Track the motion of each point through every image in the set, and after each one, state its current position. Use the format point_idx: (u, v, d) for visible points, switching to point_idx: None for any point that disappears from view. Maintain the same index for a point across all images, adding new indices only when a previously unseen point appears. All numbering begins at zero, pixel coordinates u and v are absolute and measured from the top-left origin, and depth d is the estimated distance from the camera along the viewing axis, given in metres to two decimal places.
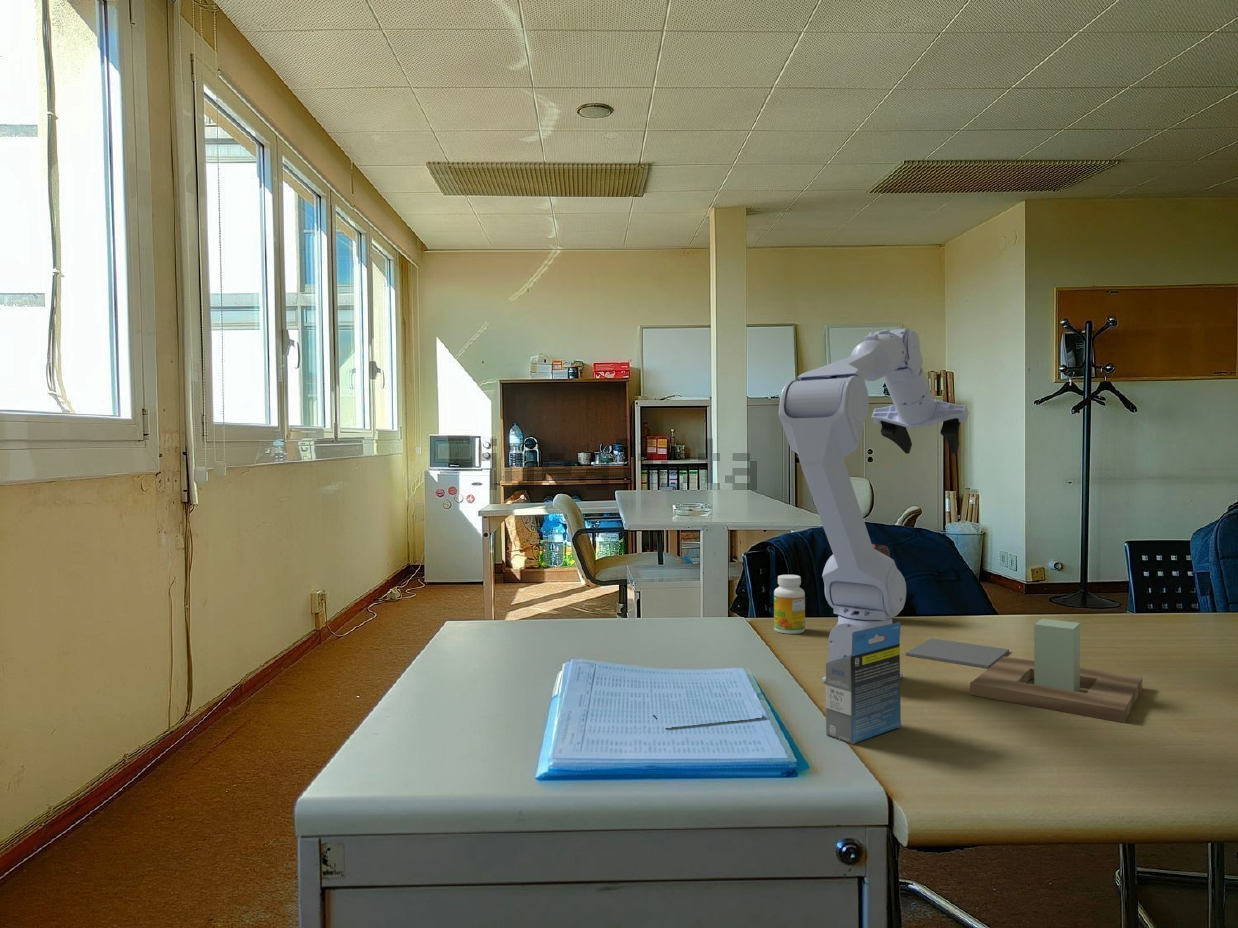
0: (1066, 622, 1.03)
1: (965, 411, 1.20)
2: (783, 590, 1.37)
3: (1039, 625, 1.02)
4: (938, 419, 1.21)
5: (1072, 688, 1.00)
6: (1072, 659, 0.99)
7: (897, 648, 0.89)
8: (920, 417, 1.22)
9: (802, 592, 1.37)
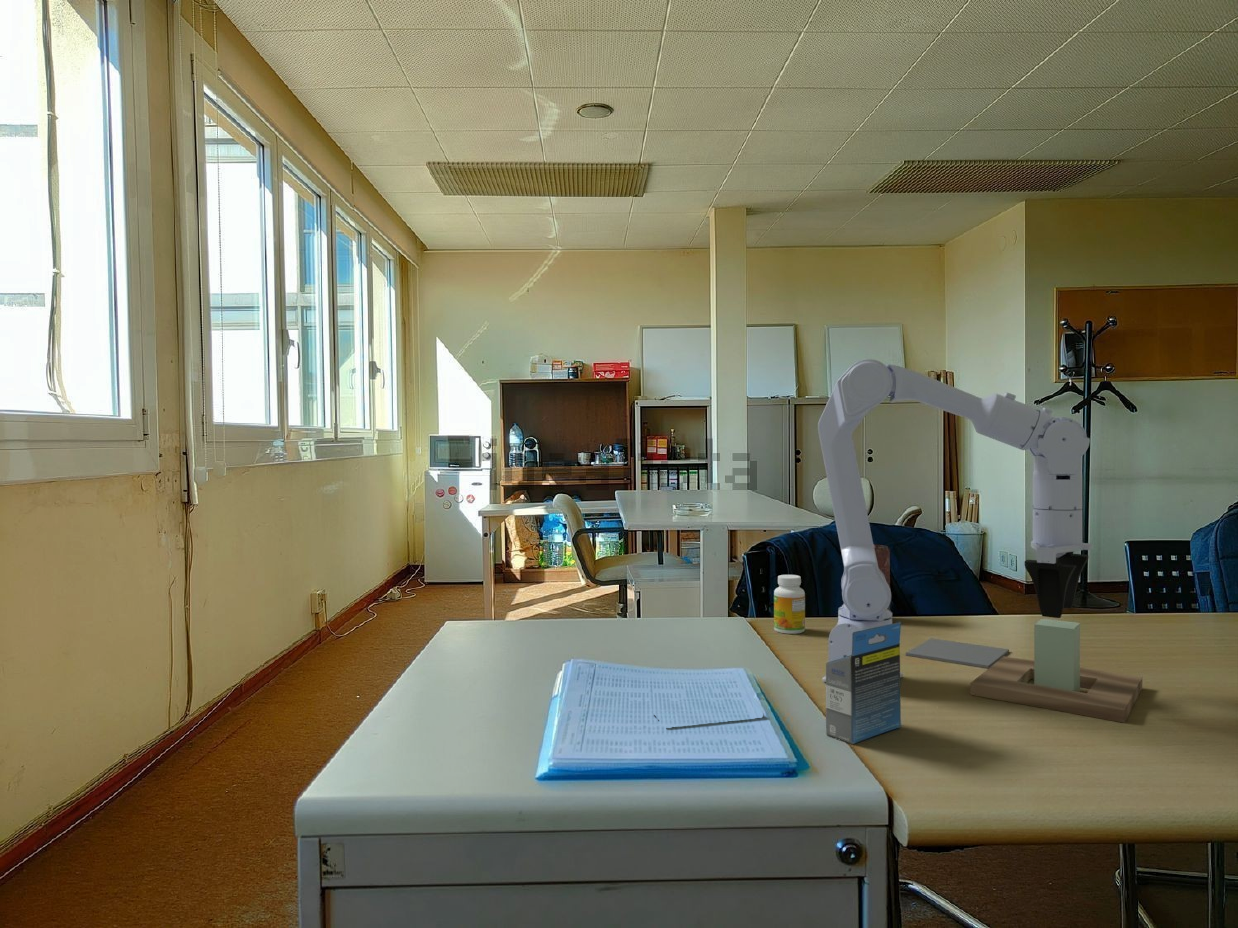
0: (1066, 622, 1.03)
1: (1047, 552, 0.97)
2: (783, 590, 1.37)
3: (1039, 625, 1.02)
4: (1035, 545, 1.01)
5: (1072, 688, 1.00)
6: (1072, 659, 0.99)
7: (897, 648, 0.89)
8: (1034, 533, 1.03)
9: (802, 592, 1.37)
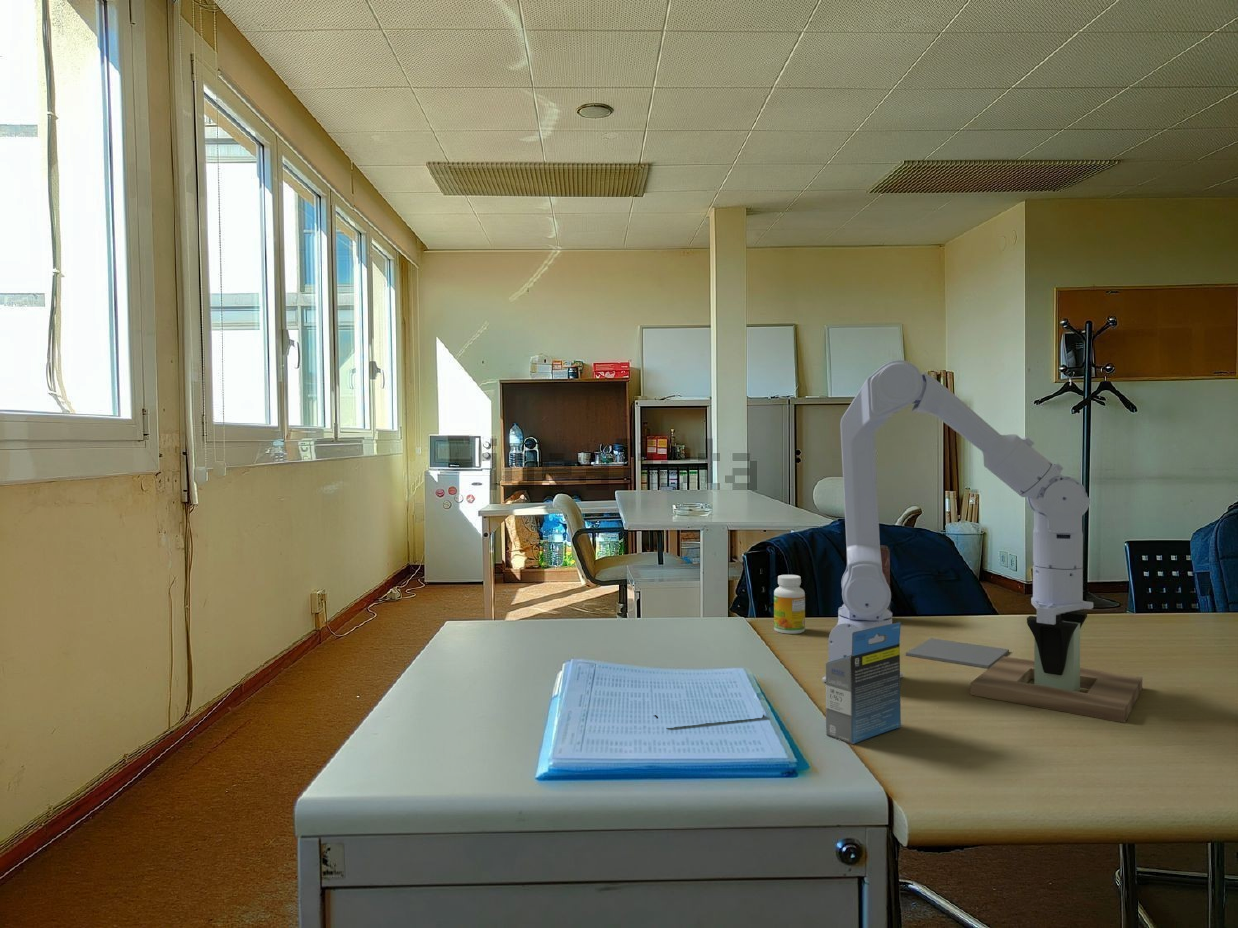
0: None
1: (1046, 613, 0.97)
2: (783, 590, 1.37)
3: None
4: (1035, 603, 1.01)
5: (1072, 688, 1.00)
6: (1072, 659, 0.99)
7: (897, 648, 0.89)
8: (1034, 590, 1.03)
9: (802, 592, 1.37)
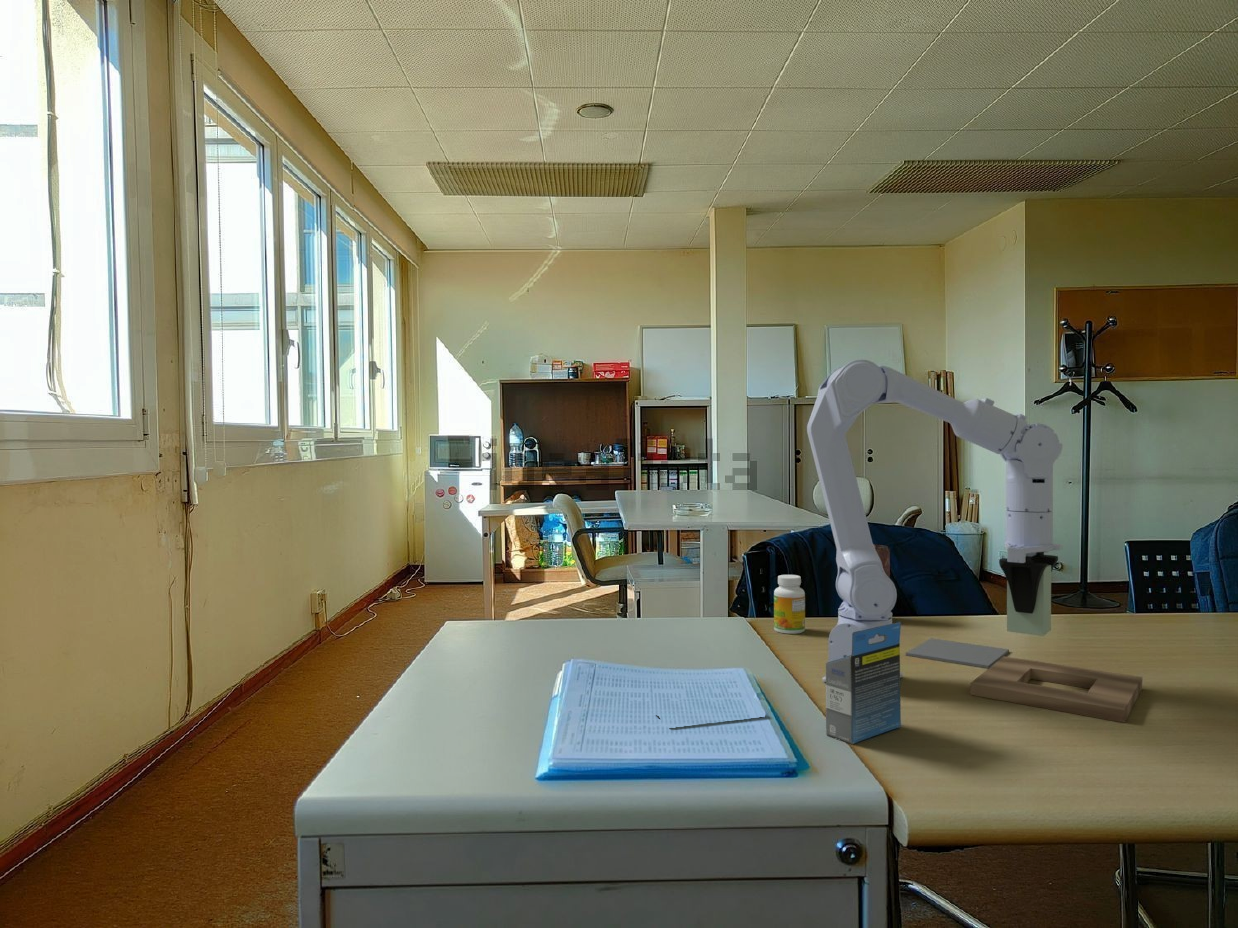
0: None
1: (1016, 552, 1.02)
2: (783, 590, 1.37)
3: None
4: (1007, 545, 1.06)
5: (1042, 625, 1.04)
6: (1042, 598, 1.04)
7: (897, 648, 0.89)
8: (1006, 534, 1.08)
9: (802, 592, 1.37)
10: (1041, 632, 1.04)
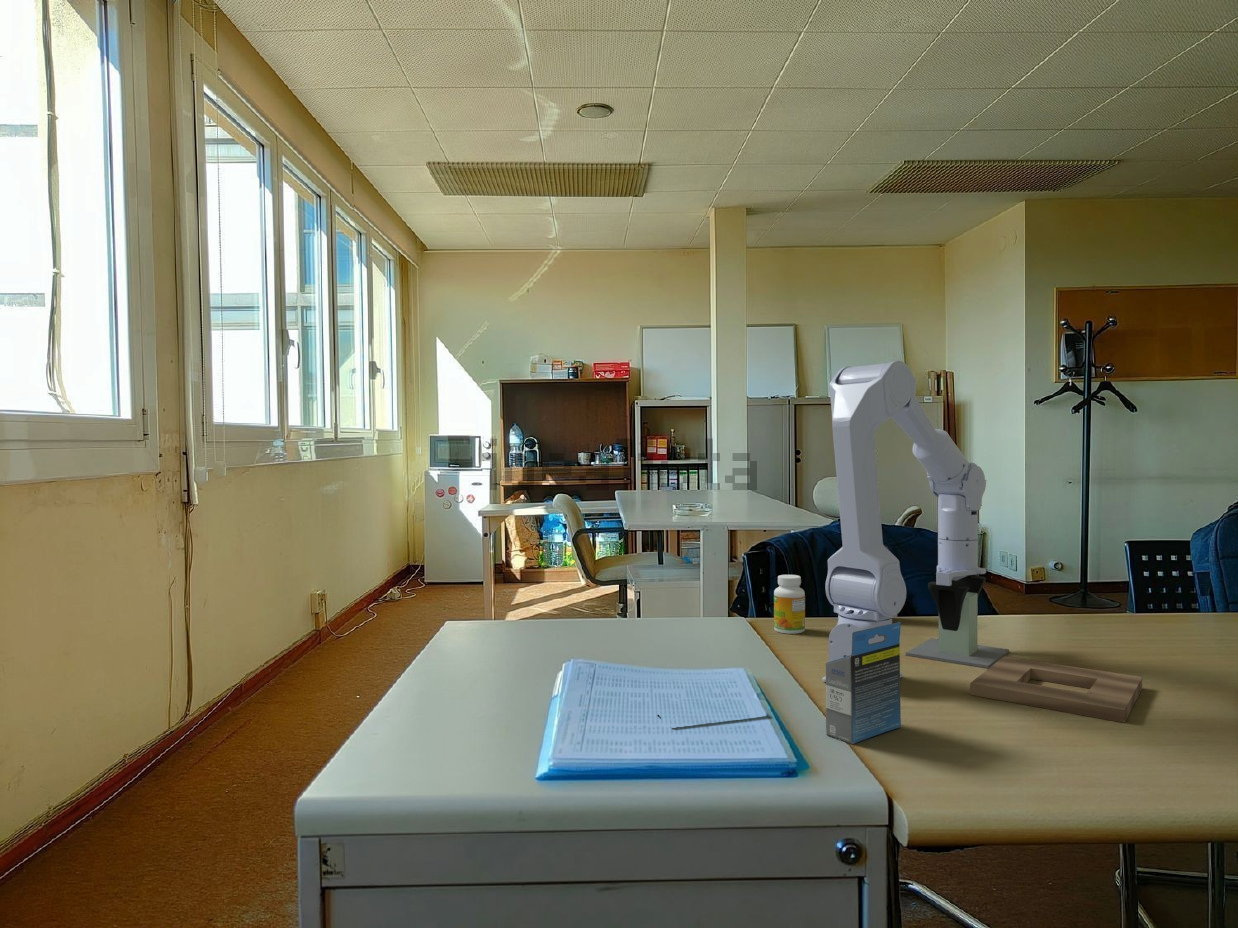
0: None
1: (944, 576, 1.16)
2: (783, 590, 1.37)
3: None
4: (937, 569, 1.20)
5: (968, 647, 1.19)
6: (968, 622, 1.19)
7: (897, 648, 0.89)
8: (938, 559, 1.22)
9: (802, 592, 1.37)
10: (967, 653, 1.19)
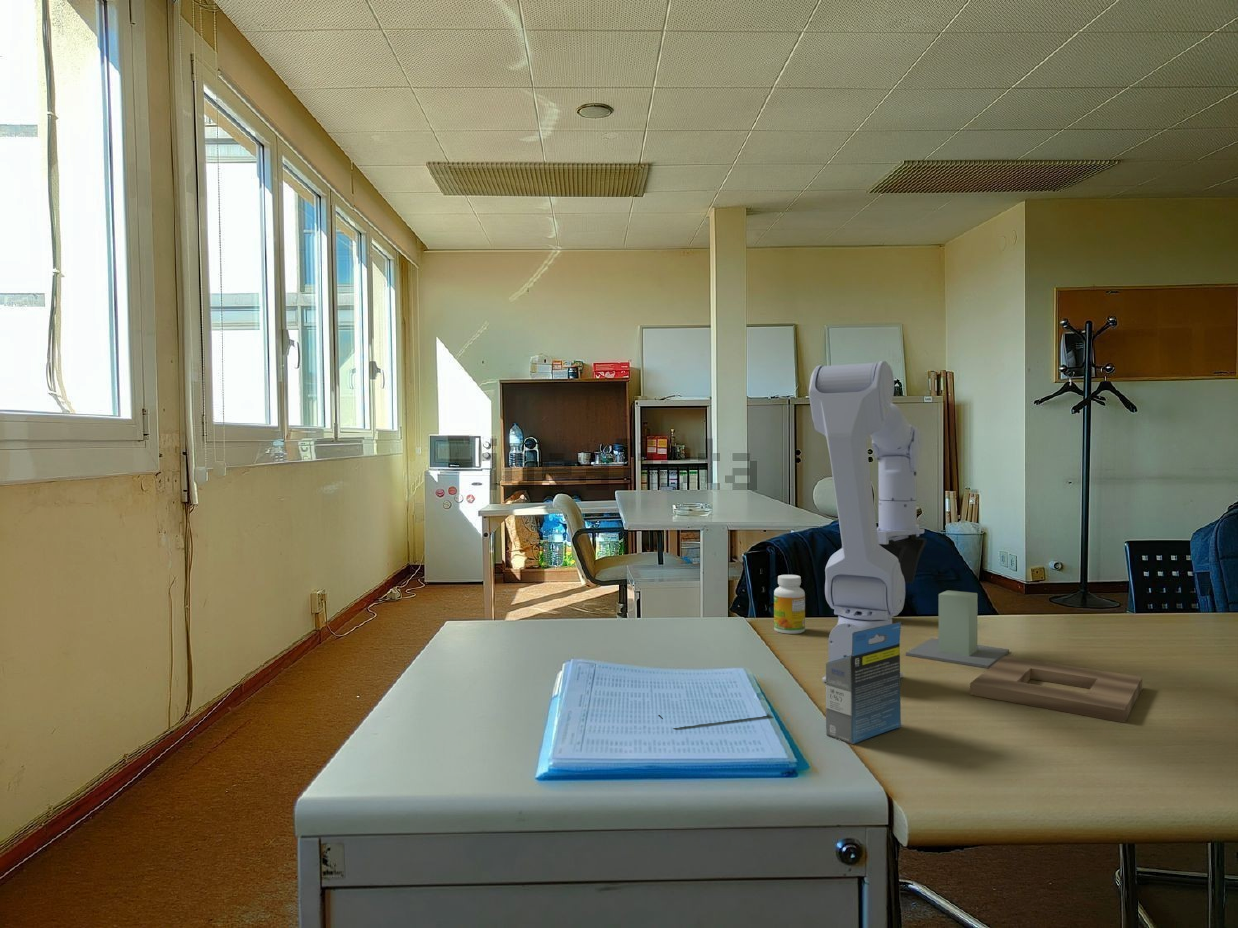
0: (966, 592, 1.23)
1: (881, 535, 1.18)
2: (783, 590, 1.37)
3: (942, 595, 1.21)
4: None
5: (968, 647, 1.19)
6: (968, 622, 1.19)
7: (897, 648, 0.89)
8: None
9: (802, 592, 1.37)
10: (967, 653, 1.19)
